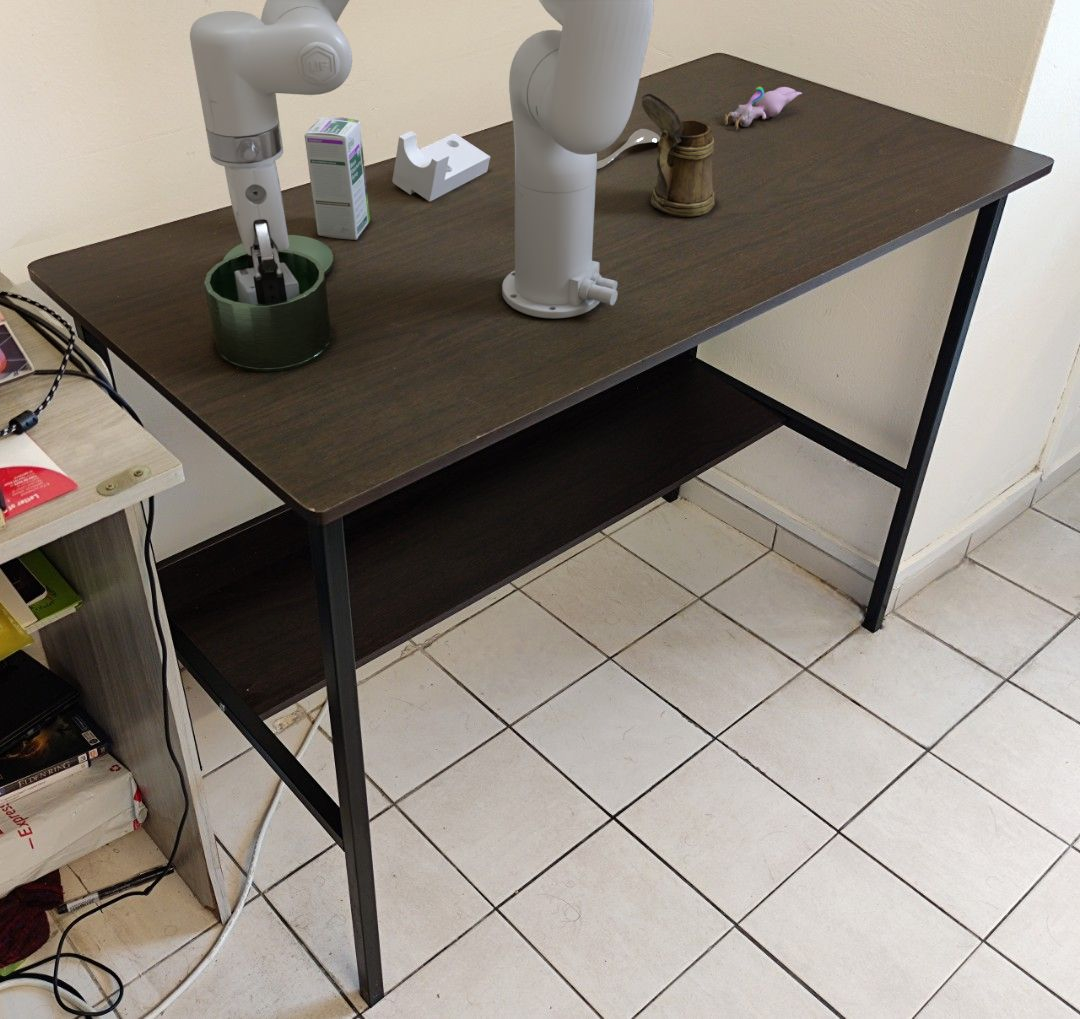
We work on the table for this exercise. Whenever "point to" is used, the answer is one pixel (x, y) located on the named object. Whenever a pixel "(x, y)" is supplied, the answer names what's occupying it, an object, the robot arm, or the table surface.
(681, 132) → the wooden mug
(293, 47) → the robot arm
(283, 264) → the product carton
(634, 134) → the metal spoon
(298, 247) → the tin lid
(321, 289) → the tin
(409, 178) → the bracket
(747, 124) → the pink creature figurine
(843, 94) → the table surface
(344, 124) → the syrup box
